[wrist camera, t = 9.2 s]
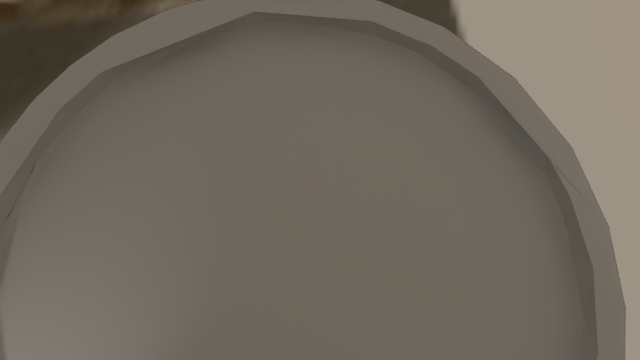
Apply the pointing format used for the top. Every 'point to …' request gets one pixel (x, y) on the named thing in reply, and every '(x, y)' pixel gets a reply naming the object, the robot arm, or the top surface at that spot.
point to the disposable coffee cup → (298, 199)
